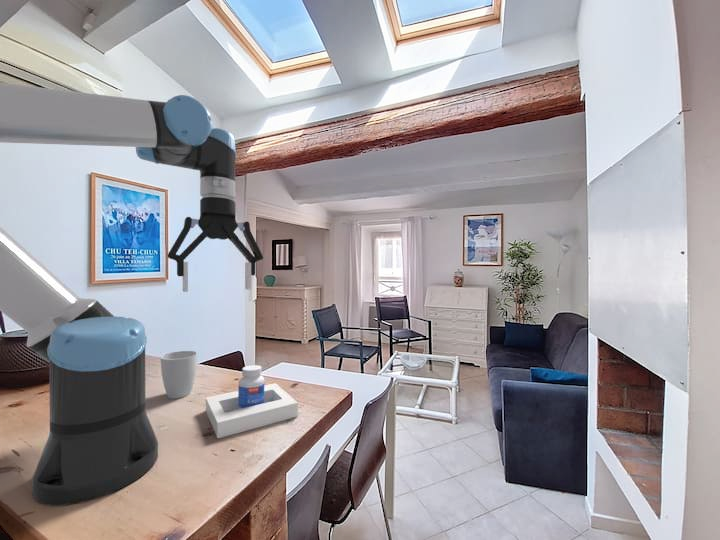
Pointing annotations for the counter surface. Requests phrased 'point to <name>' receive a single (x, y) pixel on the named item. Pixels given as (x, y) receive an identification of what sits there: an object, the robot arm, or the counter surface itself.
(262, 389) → the pill bottle
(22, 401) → the counter surface
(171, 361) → the cup
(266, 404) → the dock
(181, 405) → the counter surface
